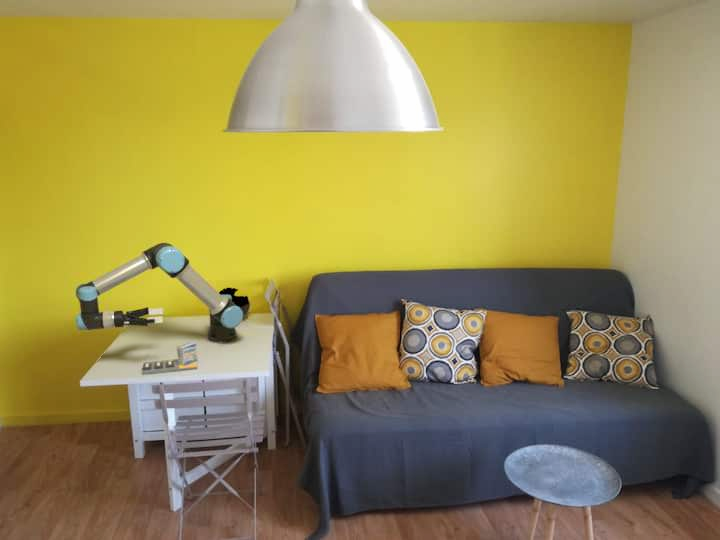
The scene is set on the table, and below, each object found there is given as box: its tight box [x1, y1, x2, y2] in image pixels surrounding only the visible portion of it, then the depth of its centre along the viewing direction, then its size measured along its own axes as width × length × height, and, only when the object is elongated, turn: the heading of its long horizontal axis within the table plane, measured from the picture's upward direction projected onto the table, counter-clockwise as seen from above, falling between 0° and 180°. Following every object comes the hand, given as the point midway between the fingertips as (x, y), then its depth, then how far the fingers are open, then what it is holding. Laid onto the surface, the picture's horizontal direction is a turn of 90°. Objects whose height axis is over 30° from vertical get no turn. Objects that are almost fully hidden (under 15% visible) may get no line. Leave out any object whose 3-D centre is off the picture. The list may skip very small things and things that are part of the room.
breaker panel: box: [141, 358, 198, 376], centre depth 285 cm, size 24×13×3 cm, turn 106°
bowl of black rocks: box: [218, 286, 251, 318], centre depth 350 cm, size 20×20×19 cm
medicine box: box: [176, 341, 198, 366], centre depth 286 cm, size 8×4×9 cm, turn 145°
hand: (163, 315), depth 285 cm, fingers open, 13 cm apart
